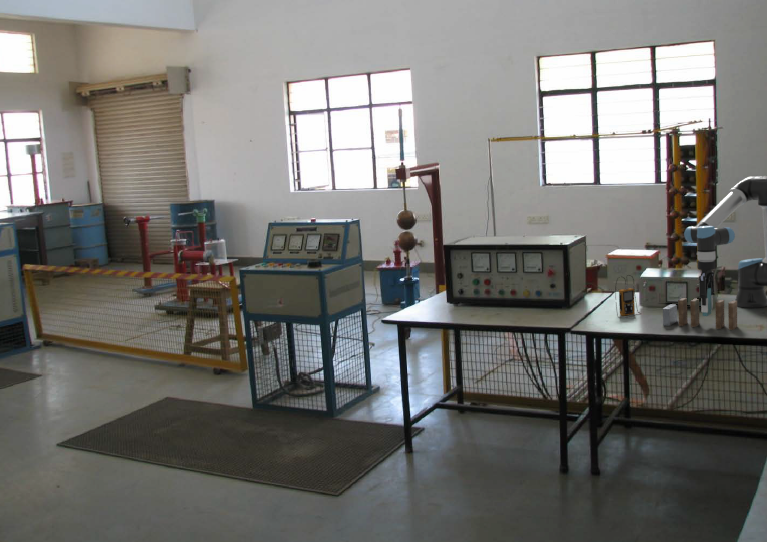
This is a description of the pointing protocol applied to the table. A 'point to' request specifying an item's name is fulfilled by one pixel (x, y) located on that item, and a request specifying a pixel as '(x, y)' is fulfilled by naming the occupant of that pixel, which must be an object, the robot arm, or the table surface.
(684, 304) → the tile
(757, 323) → the table surface
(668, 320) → the bar
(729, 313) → the tile
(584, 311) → the table surface
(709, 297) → the tile
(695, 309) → the tile
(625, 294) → the multimeter
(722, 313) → the tile
